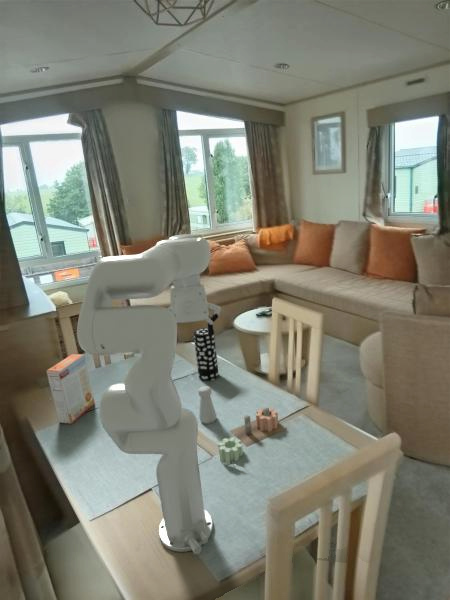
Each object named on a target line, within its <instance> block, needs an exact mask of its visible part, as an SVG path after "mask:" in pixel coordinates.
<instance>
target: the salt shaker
mask: <svg viewBox="0 0 450 600" xmlns="http://www.w3.org/2000/svg"><path fill="white" fill-rule="evenodd" d="M197 392H198V396H199V397H200V400H199V413H198V419H199V421H200V422H201V423H203V424H205V425H210V424H212V423H214V422H215V421H216V419H217V413H216V410H215V407H214V404H213V400H212V398H211V395H212V388H211V387H210V386H207V385H204V386H201V387H200V388H198V390H197Z"/></svg>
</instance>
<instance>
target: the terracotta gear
mask: <svg viewBox="0 0 450 600" xmlns="http://www.w3.org/2000/svg"><path fill="white" fill-rule="evenodd" d="M264 408H265V407H262V409H258V410H256V413H255V420H256V425H257V428H260V430H261V431H264V430H268V432H270V431H272V429H277V428H278V426H277V425H278V422H279V419H278V418H279V416H278V410H275V409H274V408H273V407H269V415H270V416H264V411H263V409H264Z"/></svg>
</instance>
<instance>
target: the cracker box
mask: <svg viewBox="0 0 450 600" xmlns="http://www.w3.org/2000/svg"><path fill="white" fill-rule="evenodd" d="M46 375H47V379H48V384H49V386H50V387H49V388H50V392H51V394H52V399H53V403H54V407H55V411H56V415H57V419H58V422H59V423H61V424H68V425H72V424H73V423H74V422H76V421H77V420H78V419H79V418H81V416H82V415H84V414H85V413H87V411H88V410H90V409H91V408H92V407H93V406H94V405H95V404H96V403H95V399H94V394H93V388H92V384H91V380H90V379H91V378H90V375H89V370H88V366H87V362H86V357H85V354H80V353H79V354H78V353H72V354H70V355H69V356H67V357H66V358H64V359H63V360H61V361H59V362H58V363H56V364H55V365H53V366H52V367H50V368H48V369H47V370H46Z"/></svg>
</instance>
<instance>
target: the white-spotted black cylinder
mask: <svg viewBox="0 0 450 600" xmlns="http://www.w3.org/2000/svg"><path fill="white" fill-rule="evenodd" d="M213 332H214V334H211V337H212V338H209V332H208V327H202V328H197V329H195V330H194V331H193V332H192V333H193V342H194V349H195V357H196V365H197V367H196V368H197V375H198V380H200V381H202V382H211V381H215V380H217V379H218V378H219V376H220V375H219V366H218V364H219V363H218V356H217V348H216V347H217V346H216V338H215V337H216V336H215V329H213Z"/></svg>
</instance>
